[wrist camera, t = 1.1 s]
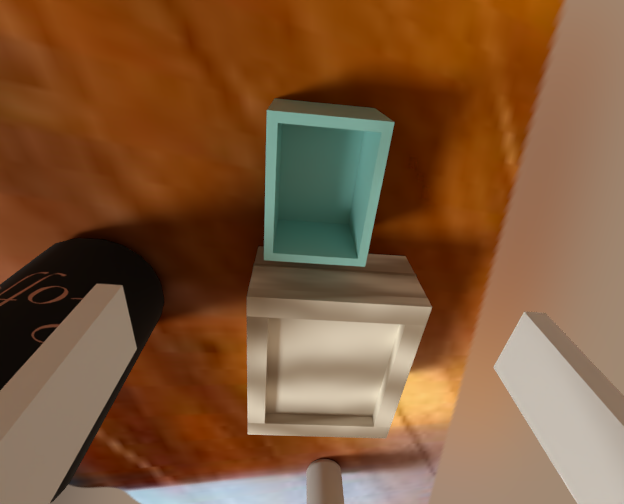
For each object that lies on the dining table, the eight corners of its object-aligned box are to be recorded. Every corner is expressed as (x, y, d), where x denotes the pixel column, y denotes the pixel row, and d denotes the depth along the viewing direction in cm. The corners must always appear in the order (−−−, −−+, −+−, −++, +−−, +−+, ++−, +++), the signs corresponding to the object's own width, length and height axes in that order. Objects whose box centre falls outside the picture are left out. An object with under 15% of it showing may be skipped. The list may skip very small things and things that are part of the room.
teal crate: (274, 98, 23) (266, 110, 18) (374, 107, 23) (394, 122, 18) (271, 222, 28) (263, 260, 23) (353, 228, 28) (365, 266, 23)
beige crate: (257, 245, 29) (245, 296, 23) (406, 255, 30) (433, 306, 23) (256, 372, 37) (247, 434, 31) (372, 377, 38) (386, 438, 32)
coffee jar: (170, 244, 28) (10, 470, 13) (168, 334, 34) (52, 573, 18) (34, 220, 27) (-331, 441, 11) (54, 318, 32) (-179, 562, 17)
